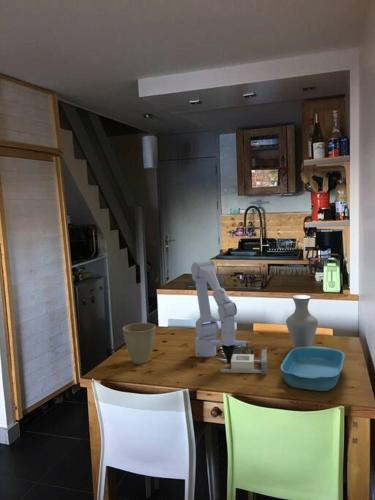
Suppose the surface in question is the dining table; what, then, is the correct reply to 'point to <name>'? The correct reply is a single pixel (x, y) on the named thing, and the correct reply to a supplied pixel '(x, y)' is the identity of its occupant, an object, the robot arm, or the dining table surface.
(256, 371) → the slide board
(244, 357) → the sliding block
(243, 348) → the dowel
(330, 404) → the dining table surface
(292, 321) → the vase
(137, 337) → the plant pot
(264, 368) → the stop wall
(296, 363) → the casserole dish
